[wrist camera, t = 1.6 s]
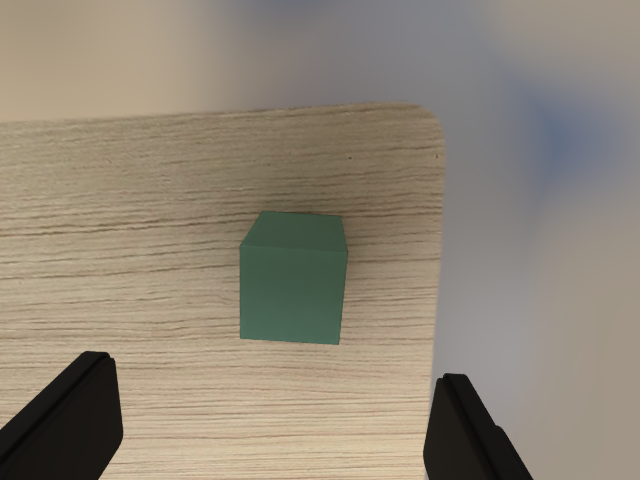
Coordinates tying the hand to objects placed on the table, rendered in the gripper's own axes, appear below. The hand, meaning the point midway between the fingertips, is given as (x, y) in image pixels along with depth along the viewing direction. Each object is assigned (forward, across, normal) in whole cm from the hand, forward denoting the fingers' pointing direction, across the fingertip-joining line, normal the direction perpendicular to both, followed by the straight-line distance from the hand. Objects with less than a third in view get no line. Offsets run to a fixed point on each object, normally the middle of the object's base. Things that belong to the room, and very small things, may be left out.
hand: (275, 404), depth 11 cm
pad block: (+12, 0, -1) cm, 12 cm away
